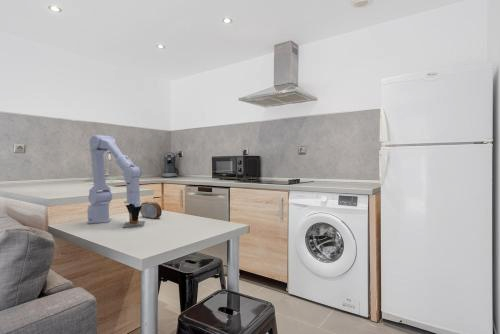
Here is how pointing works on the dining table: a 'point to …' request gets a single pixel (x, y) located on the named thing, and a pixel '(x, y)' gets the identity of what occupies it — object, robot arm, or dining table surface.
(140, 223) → the card
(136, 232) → the dining table surface
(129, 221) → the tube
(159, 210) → the tin
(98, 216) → the robot arm
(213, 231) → the dining table surface
